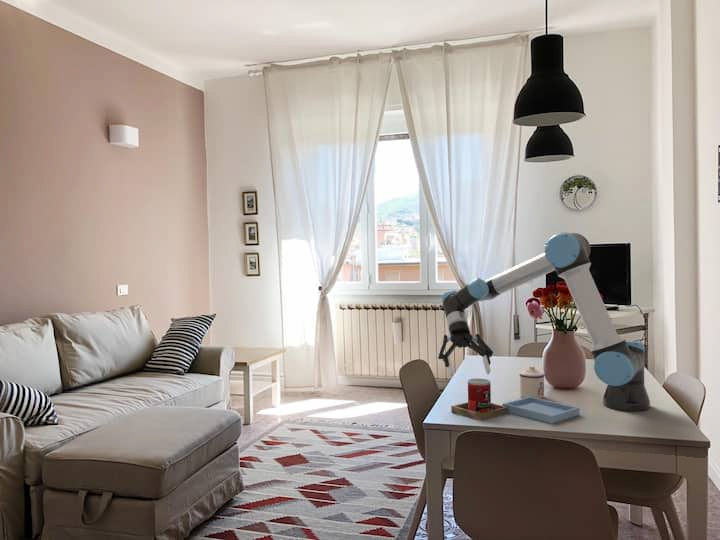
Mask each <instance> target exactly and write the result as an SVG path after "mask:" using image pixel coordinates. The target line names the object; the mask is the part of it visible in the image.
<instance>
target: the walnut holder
mask: <svg viewBox="0 0 720 540" xmlns="http://www.w3.org/2000/svg"><path fill="white" fill-rule="evenodd" d="M450 411H451V413H454V414H458V415H461V416H464V417H468V418H471V419H476V420H479V421H484V420H488V419H491V417H492V418H495V417H498V416H501V415H502V416H503V415H505V414H508V413H509V412H508V407H506V406H503V404H497V403H494V402H491V411H488V412H485V413H477V412H474V411H470V410H468V401H467V402H462V403H458V404H455V405H451V410H450Z"/></svg>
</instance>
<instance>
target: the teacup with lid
mask: <svg viewBox="0 0 720 540" xmlns="http://www.w3.org/2000/svg"><path fill="white" fill-rule="evenodd" d="M519 378H520V380H519V389H520V390H519V393H520V394H519V395H520V397H521V399H523V398H526V397H534V398H539V399H544V397H545V373H544V372H542V371H541V370H538V369H537V368H535V366H533V365H529V366H528V368H527V369H525V370H522V371H520V372H519Z"/></svg>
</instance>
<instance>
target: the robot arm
mask: <svg viewBox="0 0 720 540" xmlns="http://www.w3.org/2000/svg"><path fill="white" fill-rule="evenodd" d="M590 253H591V245H590V242H589V240H588V239H587V238H586V237H585V236H583V235H582V234H580V233H575V232H570V233H569V232H559V233H557V234H554V235H553V236H551V237H550V238H549V239H548V240H547V241H546V243H545V246H544V252H543V253H542V254H539V255H537V256H535V257H533V258H531V259H528V260H526V261H524V262H522V263H520V264H518V265H516V266H513V267H512V268H509V269H507V270H505V271H503V272H502V273H499V274H497V275H494V276H492V277H489V278H488V279H486V280H484V279H481V278H479V277H476V278H475V279H473V280H470V281H469V283H467V284H466V285H465V286H463V287H462V288H461V289H459V290H454V289H452V290H449V291H446V292H444V293H443V294H442V296H441V302H442V308H443V311H444V314H445V318H446V323H447V327H448V332H449V335H450V336H448V335H447V334H444V335H443V338H442V345H441V348H440V350H439V354H438V357H437V358H438V360H442V362H444V366H445V368H448V369H447V370H448V373H449V376H450V377H453V375H454V368H453V364H452V359H451V356H450V355H452V353H453V352H454V350H455V349H456V348H459V349H460V348H469V349H470V350H473V351H474V352H476V353H477V354H478V355H479V356H481V358H482V362H483V366H484V369H485V372H486V375H490V372H491V367H490V365H491V358H492V356H493V354H494V352H493V350H492V349H491V347H490V346H489V345H488V344H486V342H485V341H484V340H483V339H482V338H481V336H480V335H481V334H479V333H476V335H472V334H471V330H470V327H469V324H468V320H467V316H466V312H465V311H466V310H468V309H469V308H470V307H472V306H473V305H474V304H476V303H478V302H484V301H490V300H493V299H495V298H497V297H498V296H500V295H503V294H504V293H507V292H509V291H511V290H513V289H516V288H518V287H521V286H522V285H525V284H527V283H529V282H531V281H534V280H535V279H538V278H540V277H543V276H545V275H548V274H549V273H552V272H556V274H557V277H559V278H561V279H563V280H564V281H565V284H566V286H567V289H568V290H569V294H570V295H571V298H572V300H573V303H574V305H575V307H576V309H577V312H578V314H579V316H580V318H581V321H582V323H583V326H584V327H585V331H586V332H587V335H588V337H589V339H590V341H591V344H592V345H591V348H590V353H591V355H592V358H593V360H594V364H593V369H594V373H595V375H596V376H597V378H598V379H599V380H600V381H601V382H602V383H604V384H606V385H607V386H606V388H605V391H604V394H603V397H602V405H603V406H605V407H607V408H609V409H614V410H618V411H626V412H627V411H628V412H642V411H647V410H649V409H650V408H651V401H650V397H649V394H648V392H647V388H646V386H645V354H646V350H645V345H644V343H643V342H640V341H631V340H626V338H624V337H622V336H619V334H618V332H617V331H616V328H615V326H614V323H613V322H612V319H611V316H610V315H609V312H608V310H607V308H606V306H605V303H604V301H603V299H602V297H601V293H600V292H599V290H598V287H597V285H596V283H595V280H594V278H593V276H592V274H591V272H590V268H591V265H592V262H591V260H590V258H589V256H590ZM449 341H450V342H451V343H452V344H451V345H450V347H449V348H448V349H447V351H446V352H445V350H446V346H447V343H449ZM444 353H445V354H444Z"/></svg>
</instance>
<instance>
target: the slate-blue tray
mask: <svg viewBox="0 0 720 540" xmlns="http://www.w3.org/2000/svg"><path fill="white" fill-rule="evenodd" d="M502 406H506V407H508V413H510V414H514V415H517V416H521V417H525V418H528V417H529V418H528V419H532V418H533V420H536V419H537V421H540V422H544V423H548V424H551V423H553V424H556V423H559V422H562V421H565V420H564V419H566V420H568V418H569V419H571V417H572V418H574V416H575V417H578V416H580V407H579V406H578V407H577V406H573V405H568V404H564V403H561V402H560V403H559V402H555V401H550V400H546V399H544V398H542V399H539V398H534V397H526V398H520V399H516V400H512V401H508V402H504V403H502ZM577 415H578V416H577ZM561 420H562V421H561ZM558 421H559V422H558ZM555 422H556V423H555Z"/></svg>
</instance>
